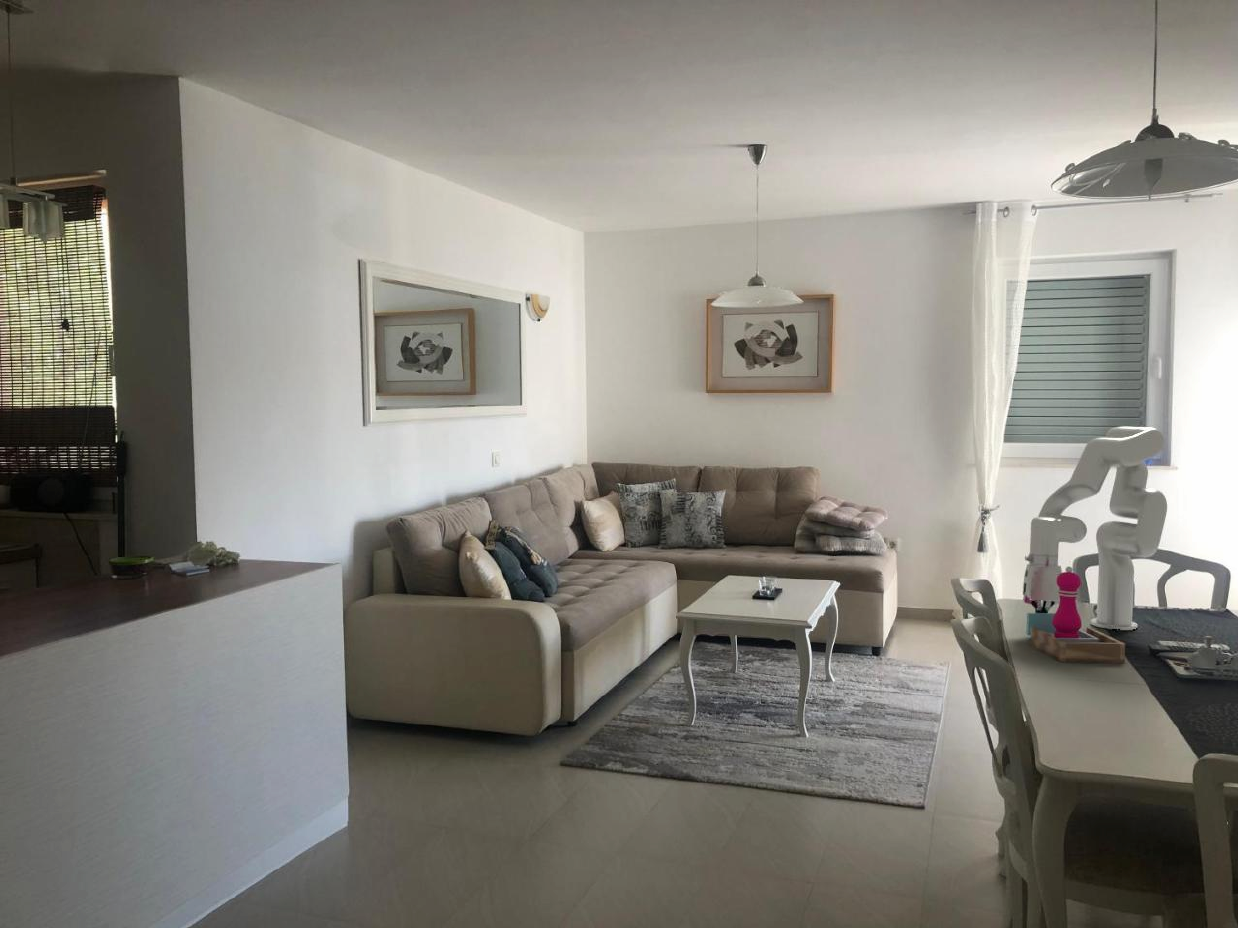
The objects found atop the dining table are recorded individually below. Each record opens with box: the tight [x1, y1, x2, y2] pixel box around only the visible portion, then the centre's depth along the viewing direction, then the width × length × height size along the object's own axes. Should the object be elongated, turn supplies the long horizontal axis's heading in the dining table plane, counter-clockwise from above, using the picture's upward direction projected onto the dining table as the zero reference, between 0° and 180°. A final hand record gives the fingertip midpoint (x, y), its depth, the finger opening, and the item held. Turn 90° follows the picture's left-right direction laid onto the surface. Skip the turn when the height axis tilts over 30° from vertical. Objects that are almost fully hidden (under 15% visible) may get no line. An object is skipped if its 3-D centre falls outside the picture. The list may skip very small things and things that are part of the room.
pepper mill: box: [1053, 566, 1083, 638], centre depth 269 cm, size 7×7×20 cm
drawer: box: [1026, 612, 1100, 643], centre depth 271 cm, size 16×13×6 cm
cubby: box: [1030, 627, 1126, 664], centre depth 263 cm, size 18×16×5 cm
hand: (1041, 623), depth 285 cm, fingers closed
